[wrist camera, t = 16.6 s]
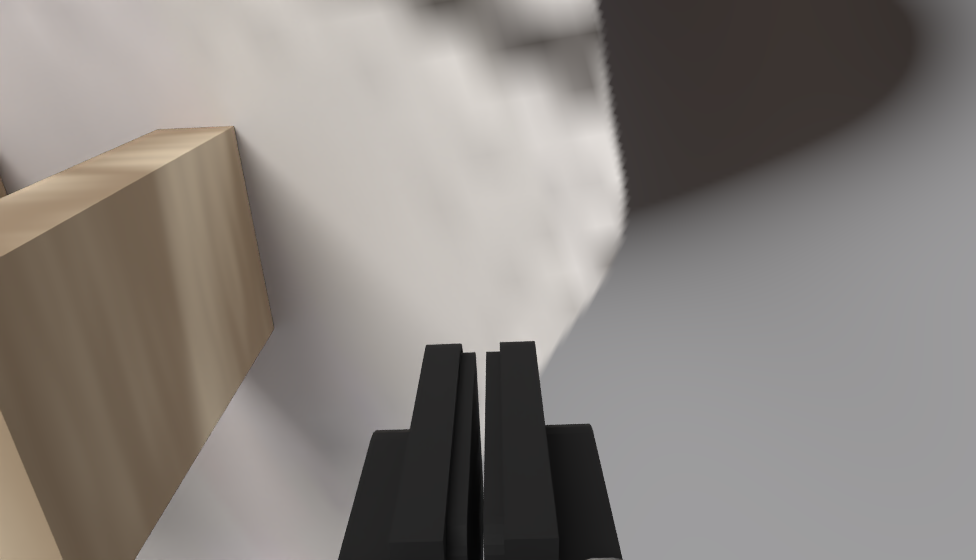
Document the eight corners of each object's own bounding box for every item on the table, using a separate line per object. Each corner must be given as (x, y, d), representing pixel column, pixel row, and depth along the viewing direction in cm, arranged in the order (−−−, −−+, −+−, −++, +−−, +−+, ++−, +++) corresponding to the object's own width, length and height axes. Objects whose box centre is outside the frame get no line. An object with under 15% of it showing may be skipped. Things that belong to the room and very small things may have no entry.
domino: (207, 331, 19) (-33, 634, 10) (157, 129, 17) (-216, 293, 8) (273, 328, 19) (92, 629, 10) (233, 126, 17) (-51, 285, 8)
